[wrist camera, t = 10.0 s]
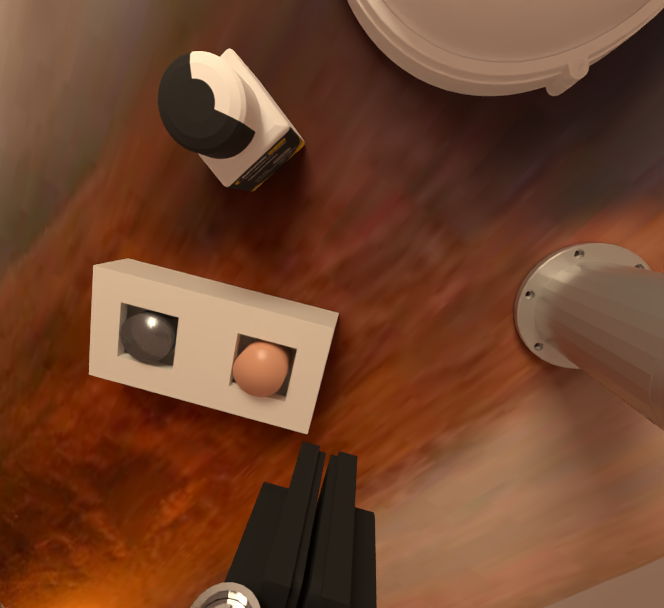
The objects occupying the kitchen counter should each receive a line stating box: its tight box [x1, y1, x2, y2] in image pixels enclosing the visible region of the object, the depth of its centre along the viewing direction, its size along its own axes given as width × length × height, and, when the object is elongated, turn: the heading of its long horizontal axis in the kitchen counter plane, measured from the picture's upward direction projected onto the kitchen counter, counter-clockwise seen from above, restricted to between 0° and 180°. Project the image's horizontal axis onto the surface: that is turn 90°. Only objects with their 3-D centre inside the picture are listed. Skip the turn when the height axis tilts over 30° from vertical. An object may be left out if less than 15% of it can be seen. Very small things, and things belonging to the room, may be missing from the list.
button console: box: [89, 259, 339, 434], centre depth 37 cm, size 24×12×5 cm, turn 76°
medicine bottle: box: [158, 49, 305, 191], centre depth 28 cm, size 7×7×12 cm
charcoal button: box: [120, 309, 179, 363], centre depth 36 cm, size 5×5×4 cm
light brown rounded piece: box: [233, 338, 293, 397], centre depth 35 cm, size 5×5×4 cm
